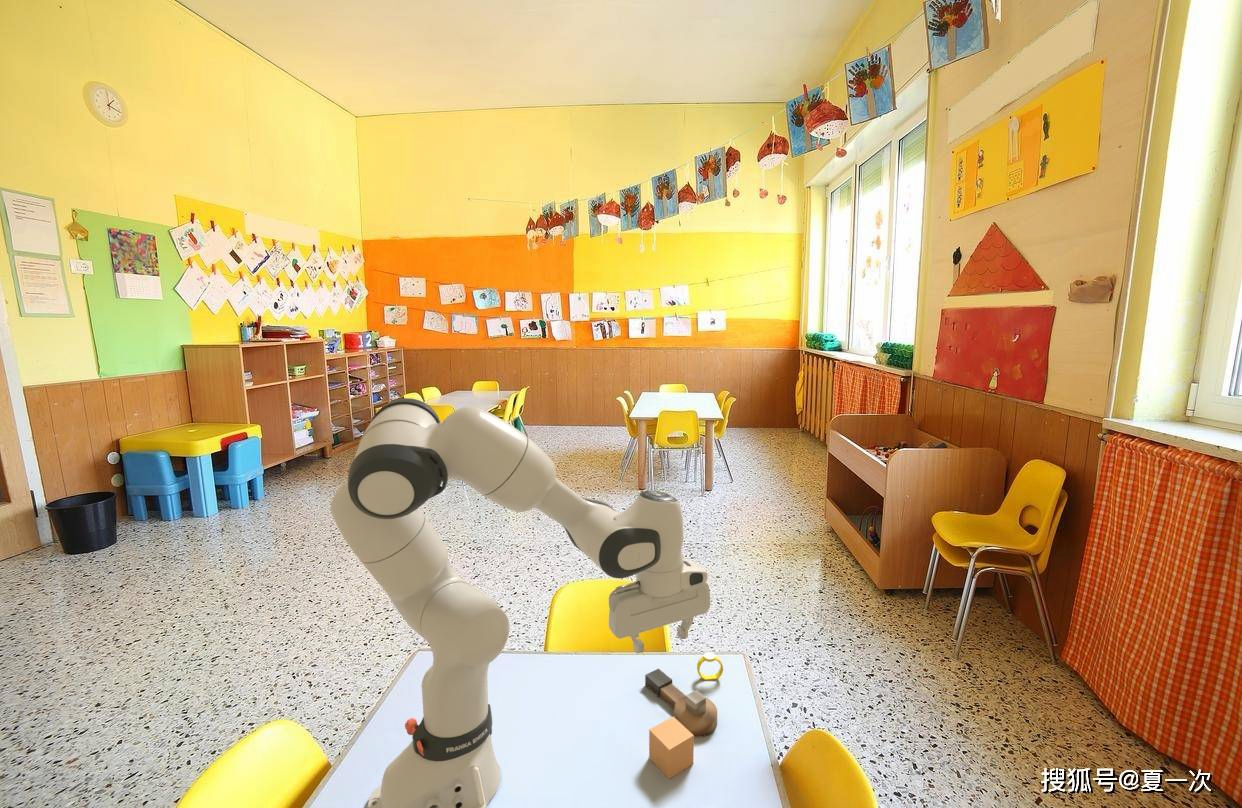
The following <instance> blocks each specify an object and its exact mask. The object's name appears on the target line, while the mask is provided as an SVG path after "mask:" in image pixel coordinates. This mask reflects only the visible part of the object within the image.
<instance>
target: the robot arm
mask: <svg viewBox="0 0 1242 808" xmlns="http://www.w3.org/2000/svg"><path fill="white" fill-rule="evenodd" d="M355 452H356V453H355V455H354V459H353V460H352V462H351V464H350V466H349V469H348V472H347V473H348V474H347V481H345V482H344V483H342V485H341V486H340V487H339V488H338V489H337V491H336V492H335V493H334V495H333V497H332V499H331V502H330V511H331V514H332V517H333V519H334V522H335V524H336V525H337V528H338V530H339V532H340V534H341V535H342V537H343V539H344V540H345V542H346V543H347V545H348V546H349V548H350V550H351V551H352V552H353V554H354V555H355V556H356V557H357V558H358V560H359V561H360V562H361V564H362V565H363V566H364V567H365V569H366V570H367V571H368V572H369V573H370V574H371V576H372V577H373V578H374V580H375V581H376V582H377V583H378V584H379V586H381V588H382V589H383V590H384V592H385V593H386V594H387V596H388V597H389V599H390V601H391V602H392V604H393V605H394V607H395V609H396V610H397V611H398V613H399V614H400V616H401V618H403V620H404V621H405V622H406V624H407V625H408V626H409V628H410V629H412V630H413V631H414V632H415V633H416V634H418V635H419V636H420V637H421V638H423V639H424V640H425V641H426V642H427V644H428V646H429V647H430V650H431V652H432V657H433V659H432V665H431V667H429V668H428V670H427V671H425V672H424V673H425V674H424V675H423V676H422V681H421V695H422V696H421V700H422V712H423V713H422V714H423V716H422V720H421V721H420V723H419V724H418V721H417V719H416V718H413V717H410V718H409V719H407V720H406V722H405V723H404V728H405V730H406V733H407V734H408V735H409V736H411V737H412V739H411V740H412V741H410V743H409V744H408V745H407V746H406V747H405V748H404V749H403V750H402V751H401V752H400V754H398V755H397V756H396V757H395V758H394V759H393V760H392V761H391V762H390V763H389V764H388V765H387V767H386V768H385V771H384V772H383V775H382V778H381V779H382V780H381V785H379V786H378V787H377V788H376V789H374V790H373V791H372V793H371V795H370V796H369V800H368V801H367V802H368V803H367V808H486V807H488V805H489V803H490V802H491V800H492V799H493V798H494V796H495V795H496V793H497V790H499V787H500V783H501V779H502V778H501V777H502V775H501V774H502V773H501V769H500V766H499V764H498V761H497V758H496V755H495V751H494V747H493V741H492V734H493V716H492V714H493V713H492V709H491V708H492V707H491V704H489V693H488V692H489V690H488V689H489V688H488V687H489V685H488V683H489V682H488V672H489V665H490V663H491V662H493V661H494V660H495V659H496V658H497V657H498V656H499V655H500V654H501V653H502V651H503V650H504V648H505V646H506V644H507V642H508V639H509V636H510V635H509V634H510V629H511V628H510V627H511V626H510V621H509V618H508V615H507V614H506V613H505V611H503V609H502V608H501V607H500V605H499V604H498V603H497V602H496V601H495V600H494V599H493V598H492V597H491V596H489V595H487V594H485V593H484V592H483V591H481V590H479V589H478V588H476V587H474V586H473V585H471V584H470V583H469V582H467V581H466V580H464V579H463V578H462V577H461V576H460V575H459V574H458V573H457V572H456V571H455V570H454V569H453V567H452V565H451V563H450V561H449V559H448V557H449V552H448V550H449V549H448V547H447V545H446V544H445V543H444V541H443V539H442V538H441V537H440V535H439V534H438V532H437V531H436V530H435V528H434V527H433V526H432V524H431V523H430V522H429V520H428V519H427V517H426V515H425V514H424V513H423V512H422V510H421V509H420V508H421V506H423V505H424V504H425V503H426V502H427V501H428V500H430V499H432V498H433V497H436V496H438V495H439V494H441V493H443V492H444V491H445V489H446V488H447V484H448V479H454V480H459V481H461V482H463V483H464V484H467V485H468V486H470V487H471V488H472V489H474V490H475V491H476V492H478V493H479V494H481V495H482V496H484V497H485V498H487V499H488V500H490V501H492V502H493V503H496V504H497V505H499V506H501V507H503V508H505V509H507V510H510V511H512V512H515V513H525V512H528V511H530V510H533V509H537V510H539V511H540V512H542V513H543V514H545V515H546V516H548V517H549V518H550V519H552V520H554V521H555V522H557V523H558V524H559V525H561V527H563V529H564V530H565V532H566V534H567V536H568V538H569V540H570V541H571V543H572V545H574V547H576V548H577V549H578V550H579V551H580V552H582V553H583V554H584V555H585V556H586V557H587V558H588V559H590V560H591V561H592V562H593V564H595V565H596V566H597V567H598V568H599V570H601V571H602V572H603V573H604V574H606V575H607V576H609V577H610V578H614V579H626V578H629V577H631V576H634V575H636V576H635V577H636V578H635V579H636V580H635V581H634V582H630V583H627V584H625V585H618V586H616V587H615V589H614V590H612V591H611V592H610V594H609V596H608V607H609V610H608V611H609V612H608V628H609V630H610V631H611V633H612V634H613V636H615V637H616V638H617V639H621V640H622V639H624V638H627V637H629V638H630V639H631V641H632V642H633V643H632V644H633V645H632V647H633V648H632V649H633V651H634V653H636V654H641V653H643V652H645V643H644V642H643V641H642V639H641V638H640V635H639V634H641V633H644V632H648V631H652V630H655V629H656V628H662V627H664V626H667V625H670V624H674V623H677V622H681V623H680V626H677V627H676V635H677V637H678V638H679V639H680V640H685V639H688V638H689V630H690V628H691V627H692V625H693V622H694V618H695V617H697V616H700V615H705V614H707V613H708V611H709V610H710V607H711V592H710V590H711V589H710V586H709V584H708V582H707V581H708V577H709V576H708V572H707V571H706V570H705V569H704V568H703V567H702V566H700V565H699V564H698V563H696V562H695V561H693V560H692V559H690V558H685V557H684V556H683V552H682V547H683V545H684V544H683V542H684V521H683V512H682V507H681V503H680V502H679V500H678V499H677V498H676V497H675V496H673V495H672V494H669V493H667V492H663V491H659V490H644V491H641V492H639V493H638V495H637V497H636V499H635V501H633V503H632V504H631V505H629V506H628V507H627V508H626V509H625V510H624V511H622V512H620V513H619V512H618V511H616V509H614V508H613V507H612V506H611V505H610V504H608V503H607V502H604V501H601V500H597V499H589V498H585V497H583V496H581V495H579V494H578V493H577V492H575V490H572V488H570V487H569V486H567V485H566V484H565V483H563V482H562V481H561V480H559V478H557V475H556V474H557V471H556V470H557V468H556V465H555V463H554V461H553V460H552V459H551V458H550V457H549V456H548V455H547V454H546V452H545V451H544V450H543V449H542V448H541V447H540V446H539V445H538V444H537V443H535V441H533V440H532V439H531V438H530V437H528V436H526V434H524V433H523V432H522V431H520V430H519V429H518V428H516V427H514V426H513V425H512V424H511V423H508V422H507V421H506V420H503V419H502V418H500V417H499V416H497V415H495V414H492V413H491V412H489V411H487V410H485V409H483V408H480V407H478V406H473V405H467V406H464V407H463V406H462V407H460V408H458V409H456V410H455V411H453V412H451V413H450V414H449V415H448V416H446V417H445V419H444V420H442V421H441V420H440V418H439V416H438V414H437V412H436V411H435V410H434V409H433V407H431V406H430V405H429V404H427V403H426V402H425V401H421V400H420V399H416V398H408V397H405V398H398V399H394V400H392V401H390V402H388V403H386V404H385V405H383V406H382V407H381V408H380V409H379V410H378V411H377V412H376V413H375V414H374V415H373V417H372V418H371V421H370V422H369V425H368V426H367V427H366V429H365V431H364V433H363V434H362V436H361V438H360V440H359V443H358V447H357V450H356V451H355Z"/></svg>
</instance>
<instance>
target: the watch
mask: <svg viewBox="0 0 1242 808" xmlns="http://www.w3.org/2000/svg"><path fill="white" fill-rule="evenodd" d="M714 661H716V662H718V663H719V665H720V667H719V669H718V670H719V671H717V672H716V673H715V674H709V675H704V674H703V673H701V670H700V667H701V665H702V664H703V663H704V662H707V663H709V662H710V663H712V662H714ZM696 669H697V674H698V676H699V677H700V678H701V679H703V681H711V680H718V679H719V678H720V677H721V676H722V675H723V672H724V666H723V662H722V661H721V659H720V658H719V656H716V654H715V653H713V652H711V651H708V652H704V654H703V655H702V657H701V658H699V660H698V661H697V664H696Z"/></svg>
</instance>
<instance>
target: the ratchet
mask: <svg viewBox="0 0 1242 808" xmlns="http://www.w3.org/2000/svg"><path fill="white" fill-rule="evenodd" d="M644 676H645V677H644V681H645V683H644V685H645V686H646V687H647V688H648V689H649V690H650V691H651V692H653V694H655V695H656V696H657V697H658V698H659V697H660V698H661V699H662V700H663V701H664V702H665V703H667V705H669V706H670V707H671V708H672V709H674V716H673V717H674V718H675V719H677V720H678V721H679V722H680V723H681V724H682V725H683V726H684V727H685V728H686V729H687V730H688V731H690V732H691V733H692V734H693V735H694V738H695V737H698V738H699V737H706V736H710V735H711V734H712V733H713V732H714V731H715V730H716V729H717V725H718V708H717V706H716V704H715V703H714V702H713V701H712V700H710V699H709V698H708V697H706V696H704V695H703V694H702V693H701V692H700V691H699V690H697V689H696V690H694V691H692V692H689V693H688V694H685V693H683V692H682V691H681V690H680V689H679V688H678V687H676V686H675V685H674V684H673V679H672V678H670V676H668V675H667V674H666V673H665V672H663V670H661V669H660V668H657V669H655V670H653V671H650V672H648V673H646V674H645V675H644Z"/></svg>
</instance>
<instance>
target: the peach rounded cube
mask: <svg viewBox="0 0 1242 808" xmlns="http://www.w3.org/2000/svg"><path fill="white" fill-rule="evenodd" d="M648 731H649V733H648V735H649V736H648V739H649V740H648V741H649V742H648V745H649V746H648V747H649V748H648V750H649V751H648V756H649V759H650V760H651V761H652V762H653V763H654V764H655V765H656V767H657V768H658V769H659V770H660V771H661V772H662V773H663V774H664V775H665V776H666V777H667V779H669V780H670V779H671V778H673V777H675V776H676V775H677V774H679V773H681V772H682V771H684V770H686V769H687V768H688V767H690V766H692V765H693V764H694V748H695V747H694V745H695V744H694V743H695V742H694V739H695V736H694V735H693V734H692V733H691V732H690V731H688V730H687V729H686V728H685V727H684V726H683V725H682V724H681V723H680V722H679V721H678V720H677V719H675V718H674V716H671V717H669V718H668V719H665V720H664V721H662V722H660V723H658V724H657V725H655V726H653V727H651V728H649V730H648Z"/></svg>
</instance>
